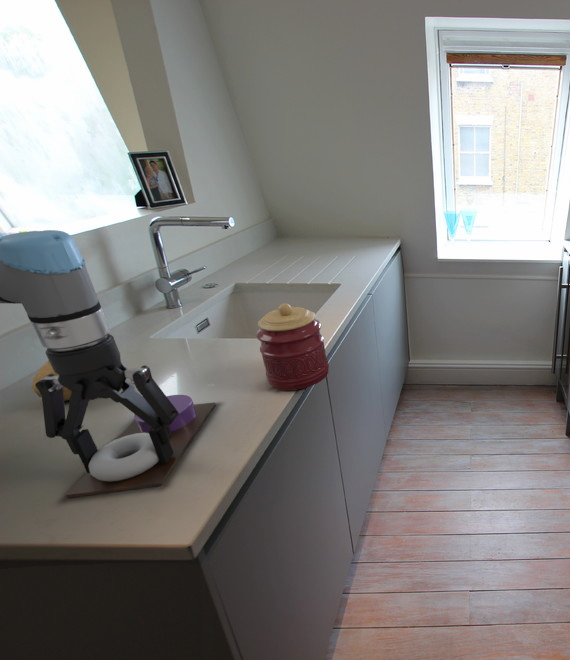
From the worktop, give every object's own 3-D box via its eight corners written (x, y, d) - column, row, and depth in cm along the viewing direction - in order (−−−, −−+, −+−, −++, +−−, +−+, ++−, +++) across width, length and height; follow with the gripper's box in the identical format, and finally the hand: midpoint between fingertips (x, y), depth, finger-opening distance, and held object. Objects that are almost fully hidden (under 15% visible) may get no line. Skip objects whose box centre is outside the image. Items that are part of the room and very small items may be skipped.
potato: (101, 374, 102) (88, 343, 99) (103, 400, 92) (88, 366, 89) (43, 389, 96) (27, 356, 93) (38, 418, 86) (20, 382, 83)
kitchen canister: (328, 386, 96) (314, 311, 89) (263, 396, 93) (243, 318, 86) (330, 359, 108) (318, 291, 100) (273, 367, 104) (255, 296, 97)
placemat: (66, 498, 67) (65, 495, 67) (144, 412, 88) (143, 409, 88) (161, 485, 70) (160, 482, 69) (216, 404, 90) (215, 402, 90)
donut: (157, 478, 70) (176, 439, 79) (150, 461, 69) (170, 423, 77) (80, 493, 67) (109, 451, 76) (71, 475, 66) (101, 434, 74)
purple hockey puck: (129, 438, 80) (123, 424, 78) (154, 409, 88) (149, 397, 86) (184, 432, 81) (179, 418, 80) (204, 405, 89) (200, 392, 88)
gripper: (-37, 360, 58) (35, 489, 68) (153, 345, 62) (197, 468, 72) (8, 336, 65) (68, 456, 74) (176, 324, 69) (214, 439, 78)
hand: (131, 462), depth 73 cm, fingers closed on donut, 10 cm apart
